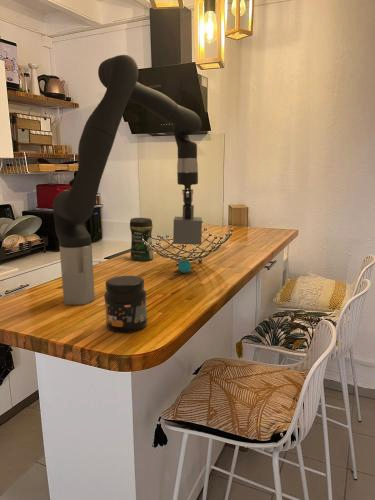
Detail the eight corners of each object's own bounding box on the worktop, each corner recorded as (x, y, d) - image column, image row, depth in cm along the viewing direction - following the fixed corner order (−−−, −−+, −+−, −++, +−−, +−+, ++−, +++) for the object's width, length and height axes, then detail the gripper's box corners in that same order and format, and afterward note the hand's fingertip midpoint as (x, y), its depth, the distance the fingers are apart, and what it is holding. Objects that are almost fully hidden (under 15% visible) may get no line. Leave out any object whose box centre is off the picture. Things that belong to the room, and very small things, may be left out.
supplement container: (97, 325, 101) (95, 280, 98) (131, 315, 108) (129, 272, 106) (122, 337, 93) (119, 289, 91) (156, 325, 101) (154, 280, 98)
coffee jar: (128, 260, 173) (126, 218, 169) (138, 256, 180) (136, 216, 176) (146, 262, 169) (145, 219, 165) (156, 258, 176) (155, 217, 172)
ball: (185, 258, 147) (174, 266, 148) (193, 269, 148) (182, 276, 149) (186, 256, 152) (176, 263, 153) (194, 266, 153) (183, 273, 154)
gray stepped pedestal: (201, 244, 144) (202, 206, 141) (173, 243, 144) (173, 206, 141) (200, 239, 154) (201, 204, 151) (174, 239, 154) (175, 203, 151)
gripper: (178, 171, 151) (178, 216, 154) (176, 171, 137) (177, 220, 140) (197, 171, 150) (198, 215, 154) (198, 171, 137) (198, 220, 140)
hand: (188, 217), depth 147 cm, fingers closed on gray stepped pedestal, 4 cm apart
